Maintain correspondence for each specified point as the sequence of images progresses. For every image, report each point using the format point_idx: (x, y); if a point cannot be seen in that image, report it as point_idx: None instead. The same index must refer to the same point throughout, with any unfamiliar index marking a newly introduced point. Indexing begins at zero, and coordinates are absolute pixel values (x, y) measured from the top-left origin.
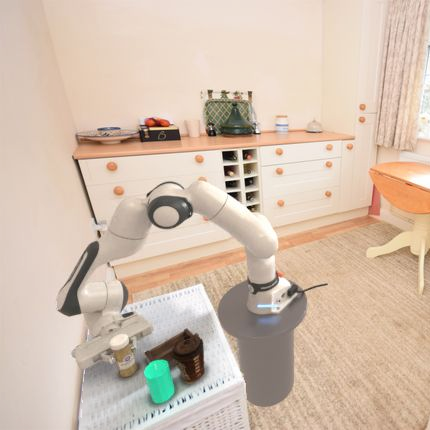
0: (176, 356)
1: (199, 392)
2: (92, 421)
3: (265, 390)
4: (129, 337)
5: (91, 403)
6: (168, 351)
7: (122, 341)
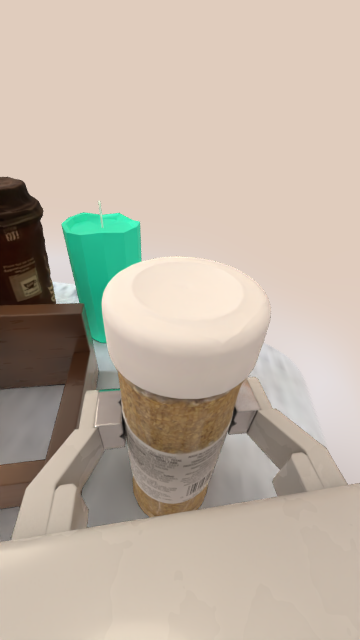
0: (32, 199)
1: (59, 289)
2: (278, 355)
3: None
4: (71, 529)
5: (298, 410)
6: (9, 307)
7: (162, 262)
